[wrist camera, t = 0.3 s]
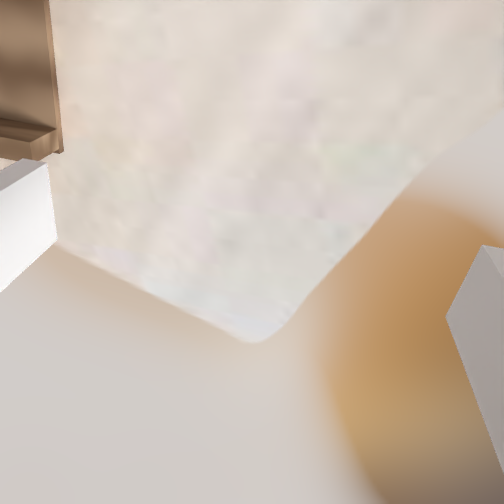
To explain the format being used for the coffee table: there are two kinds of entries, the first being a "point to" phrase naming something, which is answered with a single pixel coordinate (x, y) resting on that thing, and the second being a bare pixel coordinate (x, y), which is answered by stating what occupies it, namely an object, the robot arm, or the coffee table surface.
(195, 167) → the coffee table surface
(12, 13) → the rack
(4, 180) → the robot arm
